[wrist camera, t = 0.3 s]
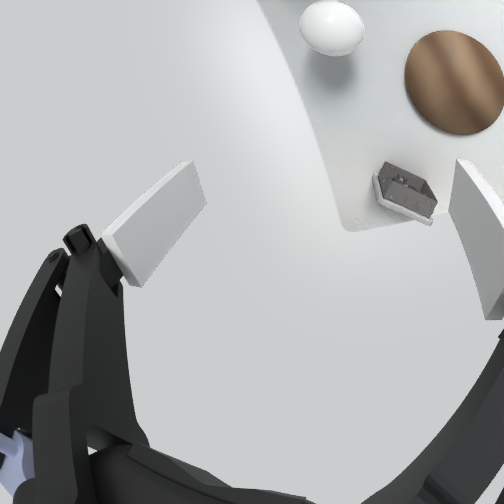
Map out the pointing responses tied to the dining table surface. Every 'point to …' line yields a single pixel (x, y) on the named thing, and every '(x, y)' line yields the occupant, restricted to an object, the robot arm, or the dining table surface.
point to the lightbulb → (331, 28)
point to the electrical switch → (404, 193)
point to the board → (455, 82)
